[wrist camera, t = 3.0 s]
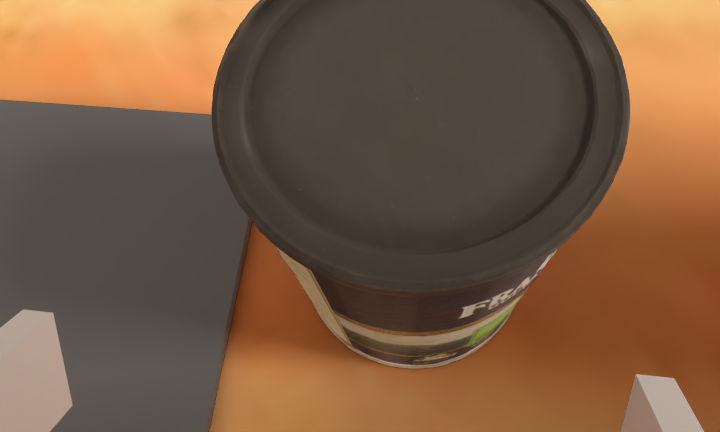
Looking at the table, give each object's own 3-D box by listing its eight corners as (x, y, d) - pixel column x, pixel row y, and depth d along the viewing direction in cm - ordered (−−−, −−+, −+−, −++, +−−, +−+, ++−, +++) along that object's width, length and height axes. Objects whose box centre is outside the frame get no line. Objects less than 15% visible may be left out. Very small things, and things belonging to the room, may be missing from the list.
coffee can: (565, 231, 27) (709, 36, 14) (442, 418, 25) (479, 390, 12) (387, 124, 30) (370, -121, 17) (260, 281, 28) (125, 135, 14)
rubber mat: (272, 124, 31) (269, 118, 30) (194, 499, 24) (189, 501, 24) (-70, 100, 33) (-78, 94, 32) (-222, 435, 27) (-235, 435, 26)
